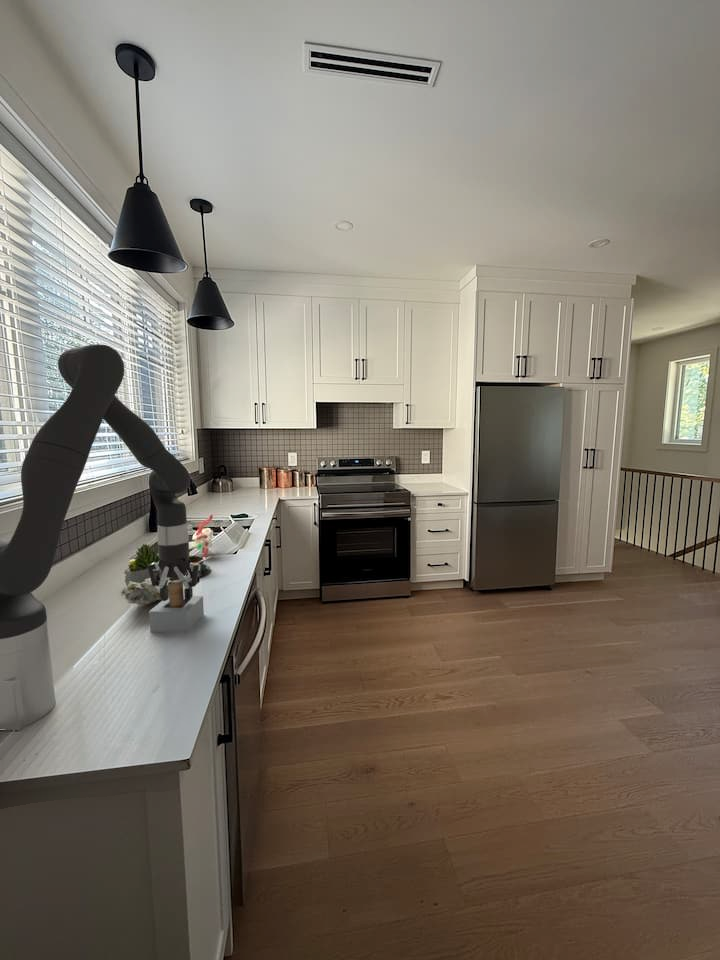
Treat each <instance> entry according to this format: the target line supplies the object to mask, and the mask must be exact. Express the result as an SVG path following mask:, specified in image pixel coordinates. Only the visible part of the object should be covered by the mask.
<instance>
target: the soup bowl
mask: <svg viewBox="0 0 720 960" xmlns="http://www.w3.org/2000/svg"><path fill="white" fill-rule="evenodd" d="M202 557H203V556H198V555H189V559H190V561H191V563H196V564H197V563H201V564H202V566H201V573H200V577H201V576H202V577H203V576H204V575H206V574H208V573H209V572H210V570H211V567H210V566H209V565H207V564H204V561H205V560H208V559H210V558H212V556H208V557H206V558H205V559H203V558H202ZM188 571H189V573H190V578H191V580H192V574H193V572H192V571H191V568H190V567H189V569H188ZM184 576H185V575H184ZM169 580H172V581H174V580H180V579H179V578H176V577H172V578H170V579H169Z"/></svg>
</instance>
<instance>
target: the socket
mask: <svg viewBox="0 0 720 960" xmlns="http://www.w3.org/2000/svg"><path fill="white" fill-rule="evenodd" d="M204 608H205V607H204V596H203V595H193V596H192V598H191V599H190V600H189V601H185V595H184V606H183V607H182V608H170V602H169V598H168V599H167V600H166V601H162V600H161V601H160V602H159V603H157V604H156V605H154V607H153V608H151V609H150V610H149V611H148V615H149V616H148V617H149V618H148V619H149V630H150V632H149V633H172V634H173V633H177V634H179V633H182V634H183V633H184V634H185V633H187V634H188V633H189V632H190V631H191V630H192V629H193V628H194V627H195V625H196V624H197V623H198V622H199V621H200V620H201V619H202V618H203V617H204V616H205V613H204V612H205V611H204V610H205V609H204Z"/></svg>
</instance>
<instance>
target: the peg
mask: <svg viewBox="0 0 720 960" xmlns="http://www.w3.org/2000/svg"><path fill="white" fill-rule="evenodd" d="M167 585H168V591H169V602H170V608H182V607H183V606H184V596H185V594H184V585H183V583H182V582H181V581H180V580H171V581H170V580H169V581H168V584H167Z"/></svg>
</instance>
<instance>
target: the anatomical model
mask: <svg viewBox="0 0 720 960" xmlns="http://www.w3.org/2000/svg"><path fill="white" fill-rule="evenodd" d="M212 520H213V514H210V515H209V517H208V518H206V519H204V520H203V521H201V522H200V521H199V522H197V524H196V525H197V530H195V532H194V534H193V535H192V538H191V540H192V541H189V550H192V549H196V550H195V552H198V551H201V552H202V554H203V555H202V557H206V558H208V557H207V556H208V554H209V548H212V547H213V542H212V539H213V538H212V536H213V535H214V530H213V529H211V528H209V527H204V526H207V525H208V524H209V523H210V522H211V521H212Z"/></svg>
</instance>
